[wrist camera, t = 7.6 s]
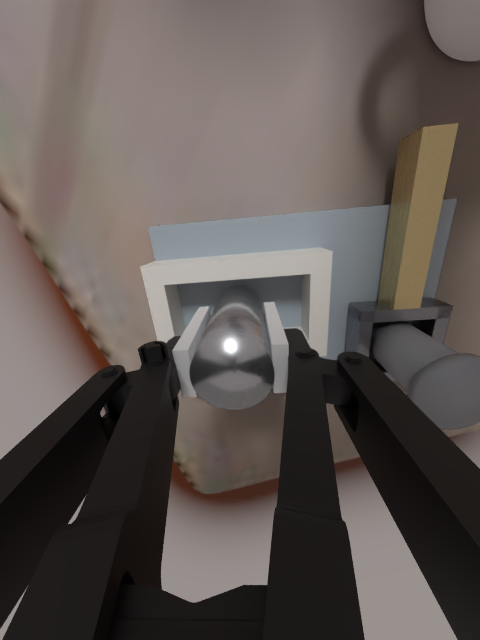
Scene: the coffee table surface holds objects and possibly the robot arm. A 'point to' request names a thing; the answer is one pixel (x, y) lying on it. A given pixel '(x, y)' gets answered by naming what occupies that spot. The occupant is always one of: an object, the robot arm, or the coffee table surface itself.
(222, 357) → the pin
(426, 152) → the ring lever
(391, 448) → the robot arm
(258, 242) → the plate
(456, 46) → the mug
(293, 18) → the coffee table surface
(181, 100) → the coffee table surface
